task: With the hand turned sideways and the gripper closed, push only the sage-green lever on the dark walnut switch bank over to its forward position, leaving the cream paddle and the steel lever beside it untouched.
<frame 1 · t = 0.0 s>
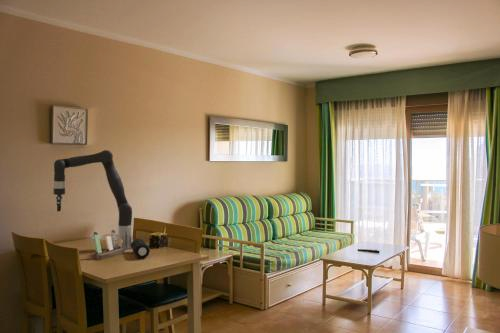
hand: (59, 210, 298), 29 cm above the table, tool pointing down, fingers open, 8 cm apart
candle: (158, 246, 325), on the table
steel lever: (114, 239, 299), point 10 cm above the table, hinge at -15.0°
cream paddle: (109, 243, 293), point 8 cm above the table, hinge at -15.0°
green lever: (97, 242, 283), point 10 cm above the table, hinge at -15.0°
portable speaker: (140, 255, 294), on the table
switch bank: (107, 255, 290), on the table
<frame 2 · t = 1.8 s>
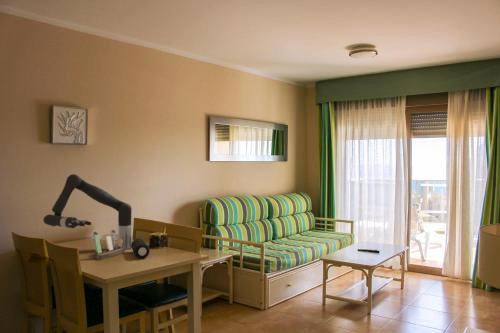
hand: (87, 224, 286), 22 cm above the table, tool horizontal, fingers open, 5 cm apart
nothing on the table moved.
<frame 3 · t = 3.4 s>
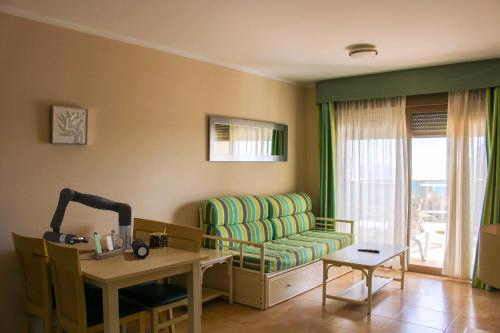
hand: (87, 241, 286), 10 cm above the table, tool horizontal, fingers closed
nothing on the table moved.
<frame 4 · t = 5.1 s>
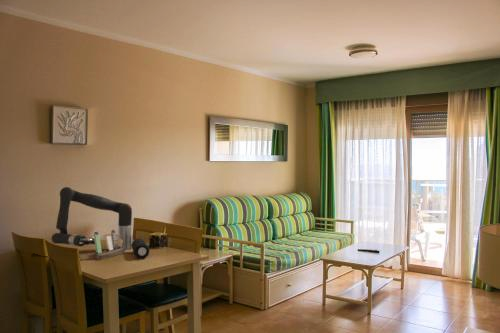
hand: (96, 242, 283), 10 cm above the table, tool horizontal, fingers closed
green lever: (97, 242, 283), point 10 cm above the table, hinge at -11.5°, touching gripper
everything else where it was.
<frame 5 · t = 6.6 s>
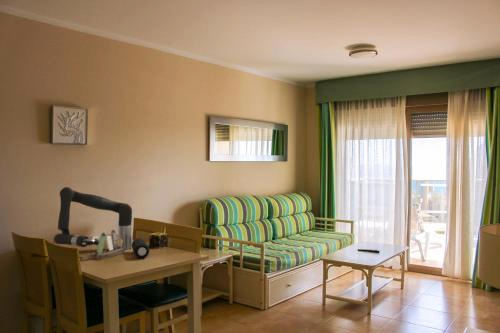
hand: (99, 243, 282), 10 cm above the table, tool horizontal, fingers closed
green lever: (101, 243, 282), point 10 cm above the table, hinge at 14.7°
everything else where it was.
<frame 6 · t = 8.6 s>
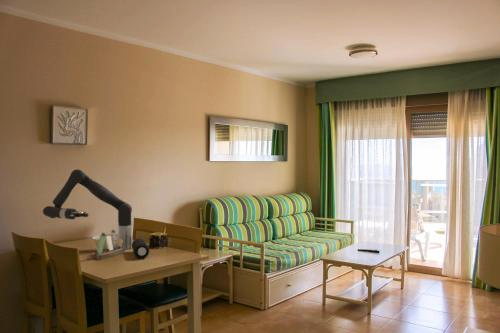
hand: (87, 215, 289), 28 cm above the table, tool horizontal, fingers closed
nothing on the table moved.
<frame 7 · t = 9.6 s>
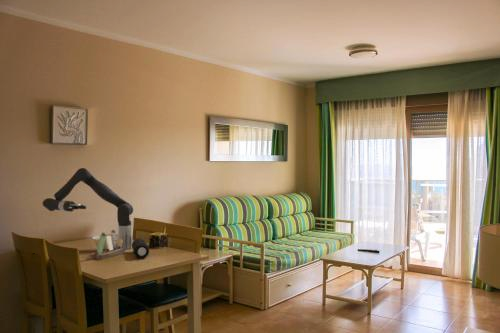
hand: (85, 207, 297), 32 cm above the table, tool horizontal, fingers closed
nothing on the table moved.
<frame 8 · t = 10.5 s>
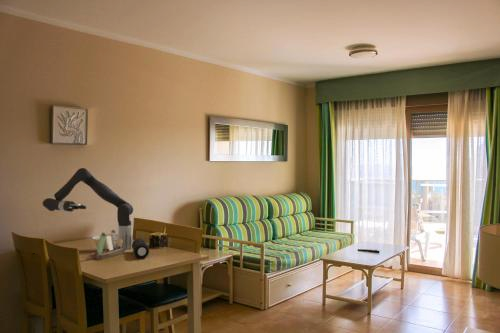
hand: (85, 207, 297), 32 cm above the table, tool horizontal, fingers closed
nothing on the table moved.
at the end: green lever at +15° (first picture: -15°); cream paddle at -15° (first picture: -15°); steel lever at -15° (first picture: -15°) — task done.
